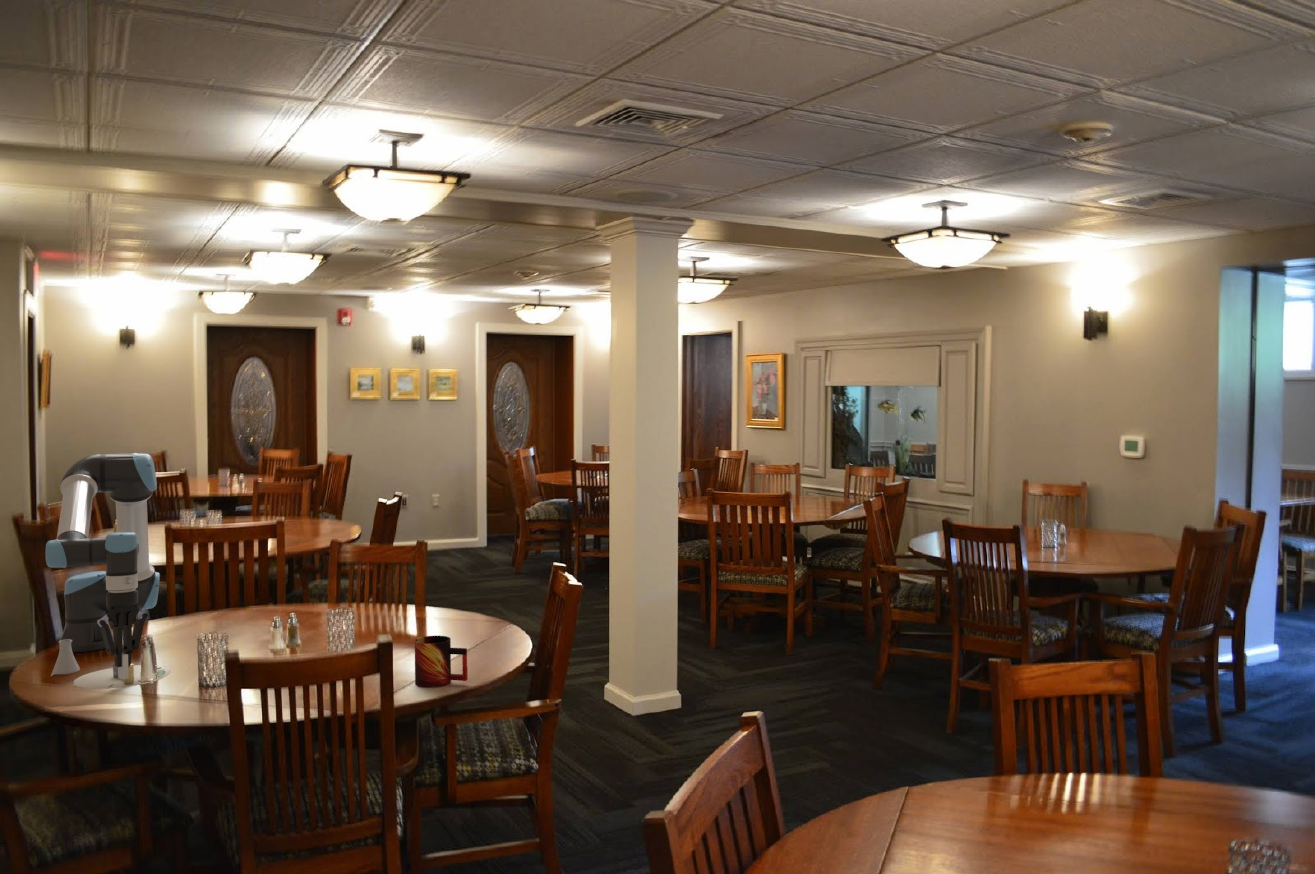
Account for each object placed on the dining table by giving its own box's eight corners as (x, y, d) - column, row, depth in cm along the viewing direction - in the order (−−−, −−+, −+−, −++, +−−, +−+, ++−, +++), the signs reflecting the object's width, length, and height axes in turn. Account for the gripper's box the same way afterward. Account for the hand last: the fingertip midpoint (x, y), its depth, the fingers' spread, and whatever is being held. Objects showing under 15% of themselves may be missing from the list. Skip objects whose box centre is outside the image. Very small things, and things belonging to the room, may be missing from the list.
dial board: (93, 671, 288) (93, 666, 288) (182, 667, 292) (182, 662, 292) (58, 695, 264) (58, 690, 264) (155, 690, 268) (155, 685, 268)
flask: (67, 679, 280) (66, 644, 279) (45, 678, 281) (44, 642, 281) (86, 672, 287) (86, 638, 286) (65, 671, 288) (64, 636, 288)
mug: (467, 685, 273) (467, 641, 272) (415, 689, 269) (415, 644, 269) (465, 675, 282) (464, 633, 282) (414, 679, 278) (414, 636, 278)
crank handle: (111, 674, 279) (111, 656, 279) (132, 671, 282) (131, 653, 281) (119, 685, 268) (118, 666, 267) (140, 682, 271) (139, 663, 270)
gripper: (104, 594, 260) (105, 685, 261) (153, 588, 271) (154, 675, 271) (90, 592, 265) (91, 681, 265) (138, 585, 275) (140, 671, 275)
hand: (123, 678), depth 268 cm, fingers closed
